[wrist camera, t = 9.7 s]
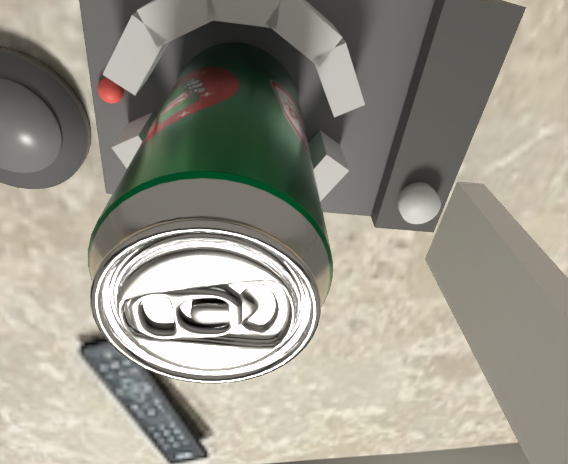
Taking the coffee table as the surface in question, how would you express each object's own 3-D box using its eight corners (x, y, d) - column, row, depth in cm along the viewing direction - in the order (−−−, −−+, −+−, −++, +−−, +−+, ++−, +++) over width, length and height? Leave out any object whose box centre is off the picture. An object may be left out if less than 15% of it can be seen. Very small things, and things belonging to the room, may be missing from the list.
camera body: (132, 148, 24) (88, 223, 18) (113, -64, 18) (38, -60, 12) (401, 174, 26) (443, 251, 20) (461, -12, 20) (549, 14, 14)
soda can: (295, 158, 19) (329, 392, 10) (184, 158, 19) (102, 397, 9) (300, 40, 16) (357, 203, 7) (168, 37, 16) (25, 204, 6)
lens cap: (-36, 175, 25) (-47, 185, 24) (-85, 36, 20) (-101, 41, 19) (99, 187, 25) (93, 197, 24) (79, 56, 21) (71, 61, 20)
